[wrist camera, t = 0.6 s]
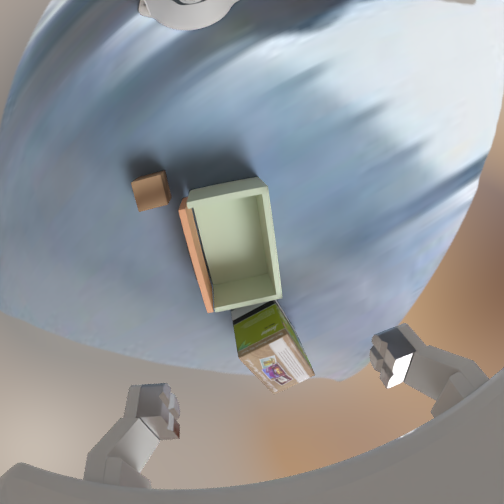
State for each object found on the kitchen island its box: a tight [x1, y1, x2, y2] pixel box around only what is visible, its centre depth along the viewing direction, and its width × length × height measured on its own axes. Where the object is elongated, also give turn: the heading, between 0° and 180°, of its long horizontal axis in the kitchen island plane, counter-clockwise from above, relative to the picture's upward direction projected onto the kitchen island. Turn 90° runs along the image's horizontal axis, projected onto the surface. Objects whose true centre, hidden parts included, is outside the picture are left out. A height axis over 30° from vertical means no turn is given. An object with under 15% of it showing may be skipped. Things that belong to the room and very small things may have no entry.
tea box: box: [231, 300, 315, 394], centre depth 54 cm, size 15×10×15 cm, turn 28°
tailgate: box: [178, 197, 213, 313], centre depth 46 cm, size 19×1×8 cm, turn 9°
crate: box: [186, 177, 282, 312], centre depth 47 cm, size 20×12×8 cm, turn 9°
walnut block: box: [131, 170, 172, 212], centre depth 43 cm, size 5×5×5 cm
